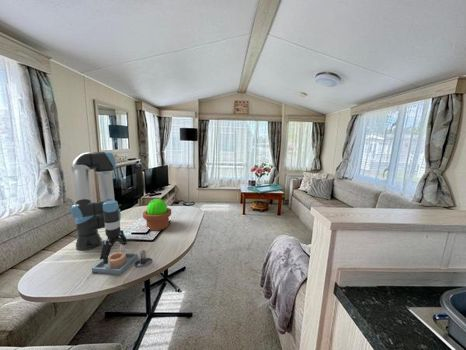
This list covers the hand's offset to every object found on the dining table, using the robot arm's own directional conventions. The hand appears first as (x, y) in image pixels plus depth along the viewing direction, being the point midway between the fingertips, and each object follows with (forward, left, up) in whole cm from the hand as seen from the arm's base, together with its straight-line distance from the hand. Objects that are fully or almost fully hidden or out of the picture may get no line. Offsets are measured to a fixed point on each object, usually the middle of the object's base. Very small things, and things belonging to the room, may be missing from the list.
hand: (116, 261), depth 123 cm
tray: (0, 0, -3) cm, 3 cm away
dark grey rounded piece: (-4, +15, -3) cm, 16 cm away
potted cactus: (-55, -2, -3) cm, 55 cm away
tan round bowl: (0, 0, -2) cm, 2 cm away
